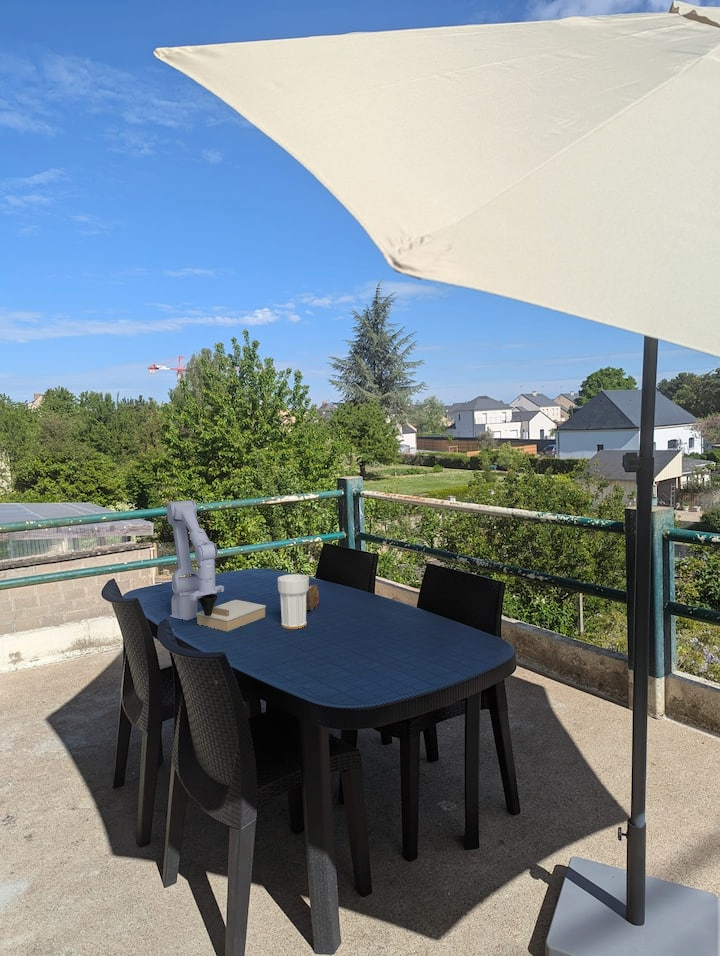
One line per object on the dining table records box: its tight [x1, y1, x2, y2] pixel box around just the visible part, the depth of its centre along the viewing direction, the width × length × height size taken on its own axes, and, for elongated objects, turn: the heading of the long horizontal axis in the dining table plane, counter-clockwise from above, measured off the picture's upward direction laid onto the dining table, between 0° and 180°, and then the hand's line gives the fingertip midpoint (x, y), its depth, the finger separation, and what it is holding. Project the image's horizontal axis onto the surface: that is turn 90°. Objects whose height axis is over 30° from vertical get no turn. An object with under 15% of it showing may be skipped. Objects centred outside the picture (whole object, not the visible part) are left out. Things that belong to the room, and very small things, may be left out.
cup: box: [277, 573, 310, 630], centre depth 237 cm, size 11×11×17 cm
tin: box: [306, 583, 320, 612], centre depth 259 cm, size 15×3×8 cm, turn 168°
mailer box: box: [196, 607, 266, 632], centre depth 243 cm, size 15×20×4 cm
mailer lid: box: [196, 599, 267, 621], centre depth 243 cm, size 16×20×3 cm
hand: (207, 615), depth 233 cm, fingers closed
